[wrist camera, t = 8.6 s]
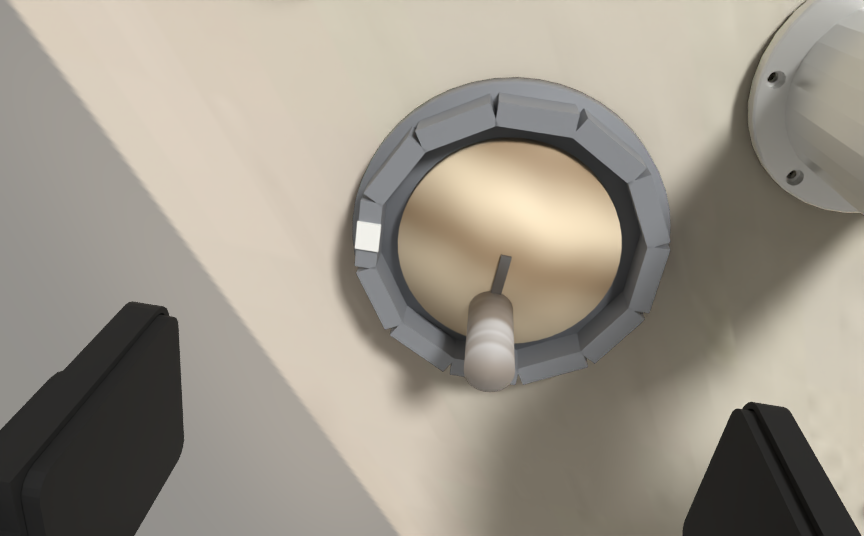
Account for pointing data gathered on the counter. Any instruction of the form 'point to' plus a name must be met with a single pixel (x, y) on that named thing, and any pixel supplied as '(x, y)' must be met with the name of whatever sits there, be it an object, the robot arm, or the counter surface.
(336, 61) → the counter surface
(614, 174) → the dial housing
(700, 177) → the counter surface
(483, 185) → the dial
